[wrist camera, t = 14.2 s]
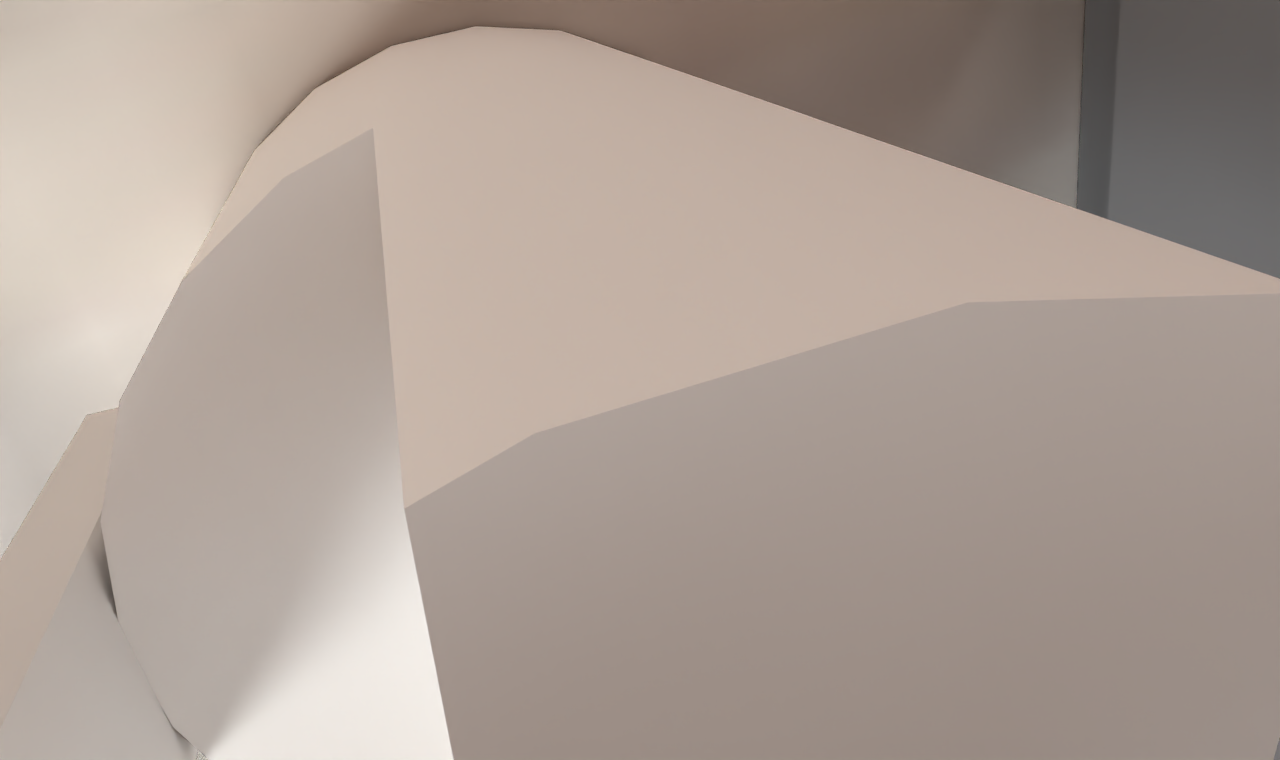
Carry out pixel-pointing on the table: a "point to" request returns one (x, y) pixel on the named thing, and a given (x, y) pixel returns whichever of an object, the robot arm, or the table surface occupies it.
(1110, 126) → the tote
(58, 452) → the table surface
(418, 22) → the table surface
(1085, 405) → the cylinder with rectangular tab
